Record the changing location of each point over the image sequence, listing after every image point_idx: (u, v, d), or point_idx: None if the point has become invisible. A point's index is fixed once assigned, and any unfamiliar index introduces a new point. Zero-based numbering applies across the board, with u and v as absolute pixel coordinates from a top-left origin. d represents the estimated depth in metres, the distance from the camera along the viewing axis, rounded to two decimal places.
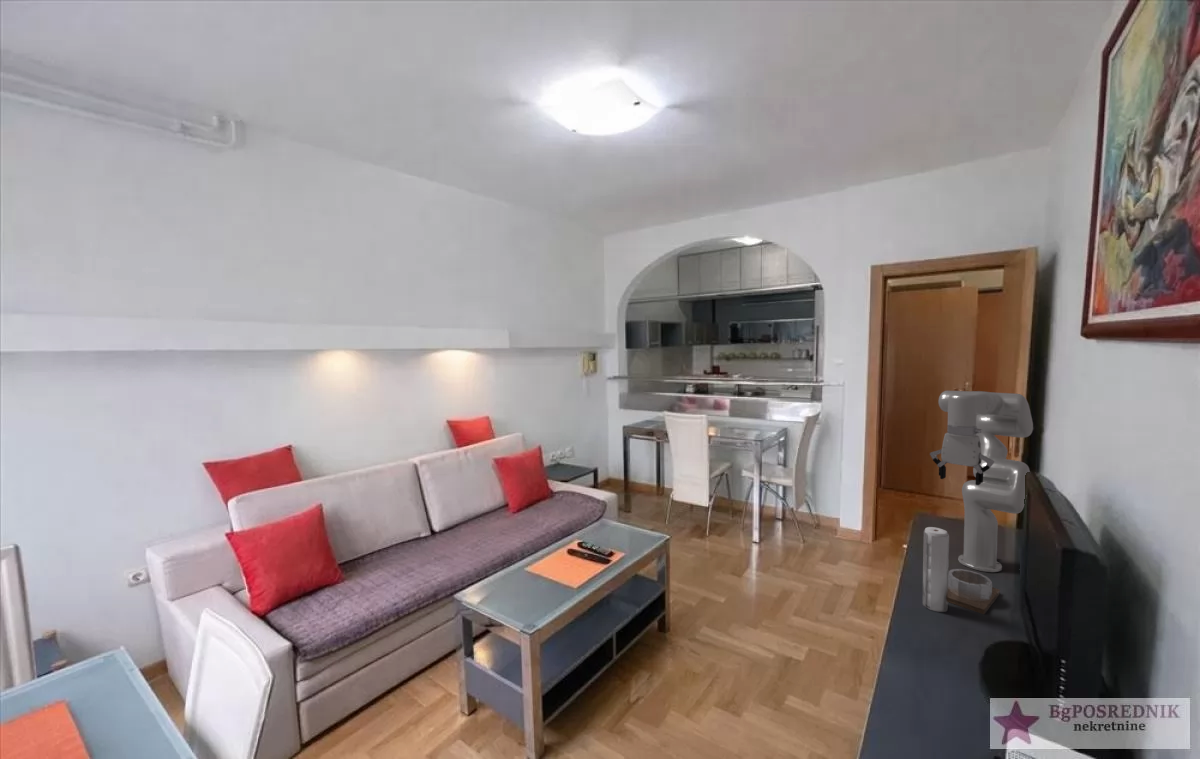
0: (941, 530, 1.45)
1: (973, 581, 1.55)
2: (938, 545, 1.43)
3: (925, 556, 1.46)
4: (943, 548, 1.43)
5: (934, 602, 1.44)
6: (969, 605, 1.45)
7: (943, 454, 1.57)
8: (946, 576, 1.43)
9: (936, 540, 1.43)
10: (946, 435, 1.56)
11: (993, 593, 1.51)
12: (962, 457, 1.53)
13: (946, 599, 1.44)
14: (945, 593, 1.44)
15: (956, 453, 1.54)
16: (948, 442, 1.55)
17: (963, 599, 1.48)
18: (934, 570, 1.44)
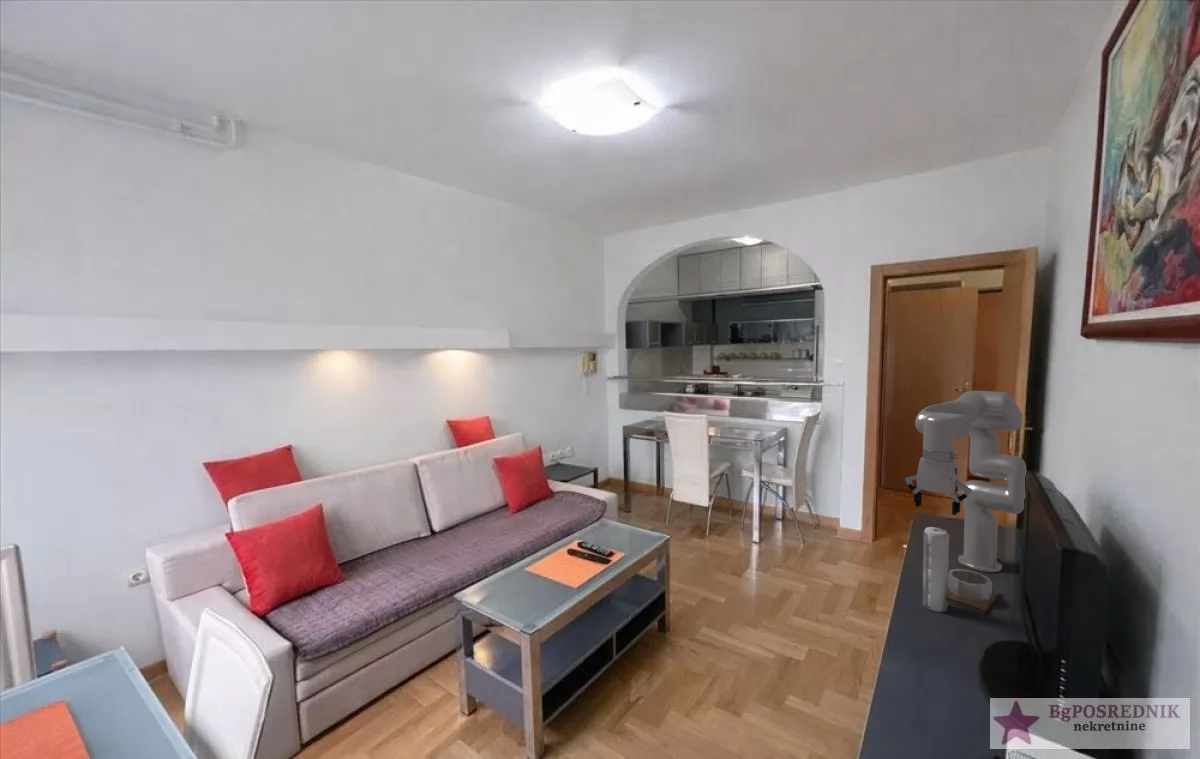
0: (941, 530, 1.45)
1: (973, 581, 1.55)
2: (938, 545, 1.43)
3: (925, 556, 1.46)
4: (943, 548, 1.43)
5: (934, 602, 1.44)
6: (969, 605, 1.45)
7: (918, 480, 1.46)
8: (946, 576, 1.43)
9: (936, 540, 1.43)
10: (921, 460, 1.45)
11: (993, 593, 1.51)
12: (937, 484, 1.42)
13: (946, 599, 1.44)
14: (945, 593, 1.44)
15: (932, 480, 1.43)
16: (923, 467, 1.45)
17: (963, 599, 1.48)
18: (934, 570, 1.44)
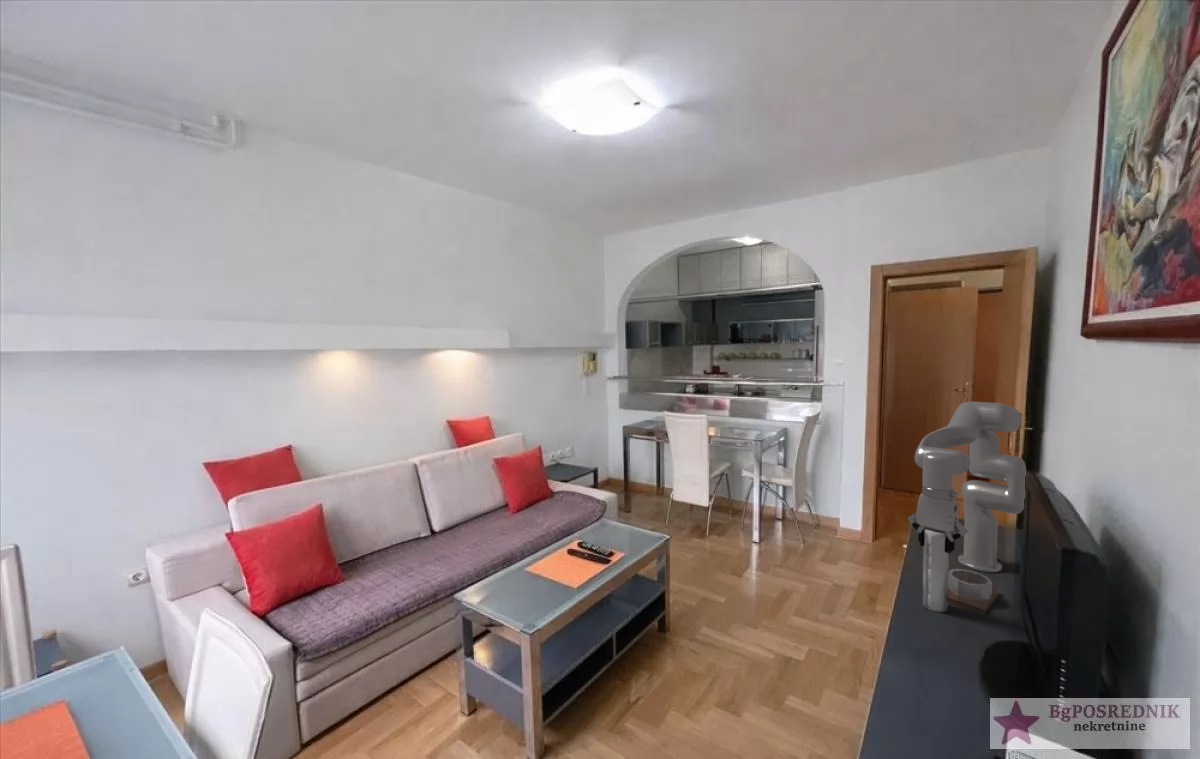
0: None
1: (973, 581, 1.55)
2: (938, 545, 1.43)
3: (925, 556, 1.46)
4: (943, 548, 1.43)
5: (934, 602, 1.44)
6: (969, 605, 1.45)
7: (918, 516, 1.47)
8: (946, 576, 1.43)
9: (936, 540, 1.43)
10: (921, 497, 1.46)
11: (993, 593, 1.51)
12: (937, 521, 1.43)
13: (946, 599, 1.44)
14: (945, 593, 1.44)
15: (932, 517, 1.44)
16: (923, 504, 1.46)
17: (963, 599, 1.48)
18: (934, 570, 1.44)
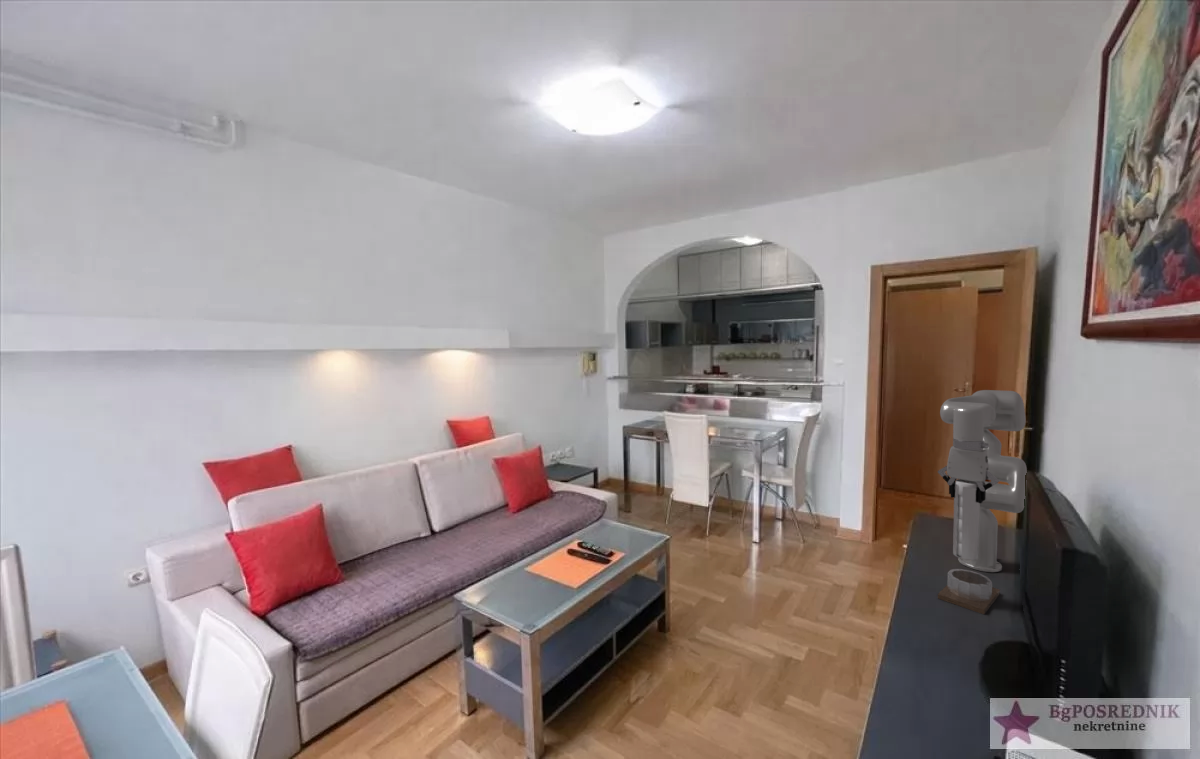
0: (971, 481, 1.48)
1: (973, 581, 1.55)
2: (969, 495, 1.46)
3: (956, 507, 1.50)
4: (974, 498, 1.46)
5: (965, 551, 1.48)
6: (969, 605, 1.45)
7: (949, 469, 1.51)
8: (977, 525, 1.47)
9: (967, 491, 1.47)
10: (952, 449, 1.50)
11: (993, 593, 1.51)
12: (968, 472, 1.47)
13: (977, 548, 1.48)
14: (976, 542, 1.48)
15: (963, 468, 1.48)
16: (954, 456, 1.49)
17: (963, 599, 1.48)
18: (965, 520, 1.48)
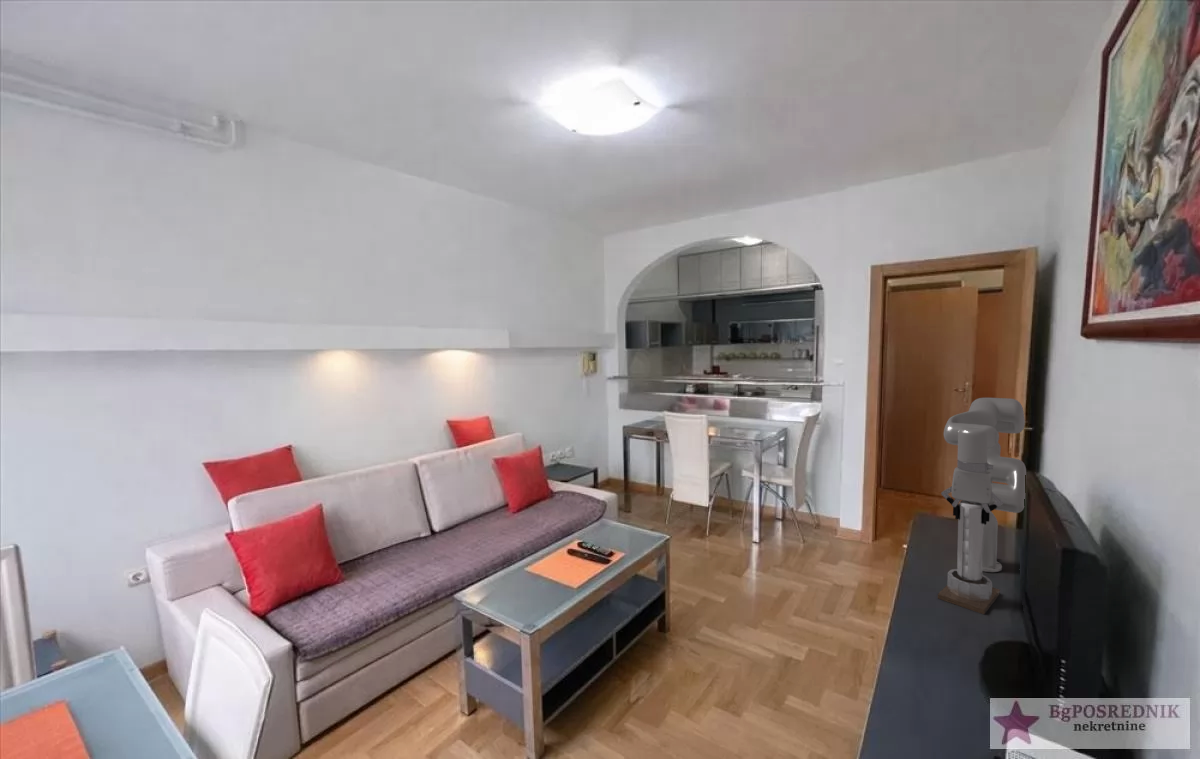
0: (975, 503, 1.50)
1: None
2: (976, 517, 1.47)
3: (961, 529, 1.50)
4: (980, 519, 1.47)
5: (971, 573, 1.49)
6: (969, 605, 1.45)
7: (954, 491, 1.51)
8: (982, 546, 1.48)
9: (973, 513, 1.47)
10: (957, 471, 1.50)
11: (993, 593, 1.51)
12: (974, 494, 1.48)
13: None
14: (981, 563, 1.49)
15: (968, 490, 1.49)
16: (959, 478, 1.50)
17: (963, 599, 1.48)
18: (972, 542, 1.48)
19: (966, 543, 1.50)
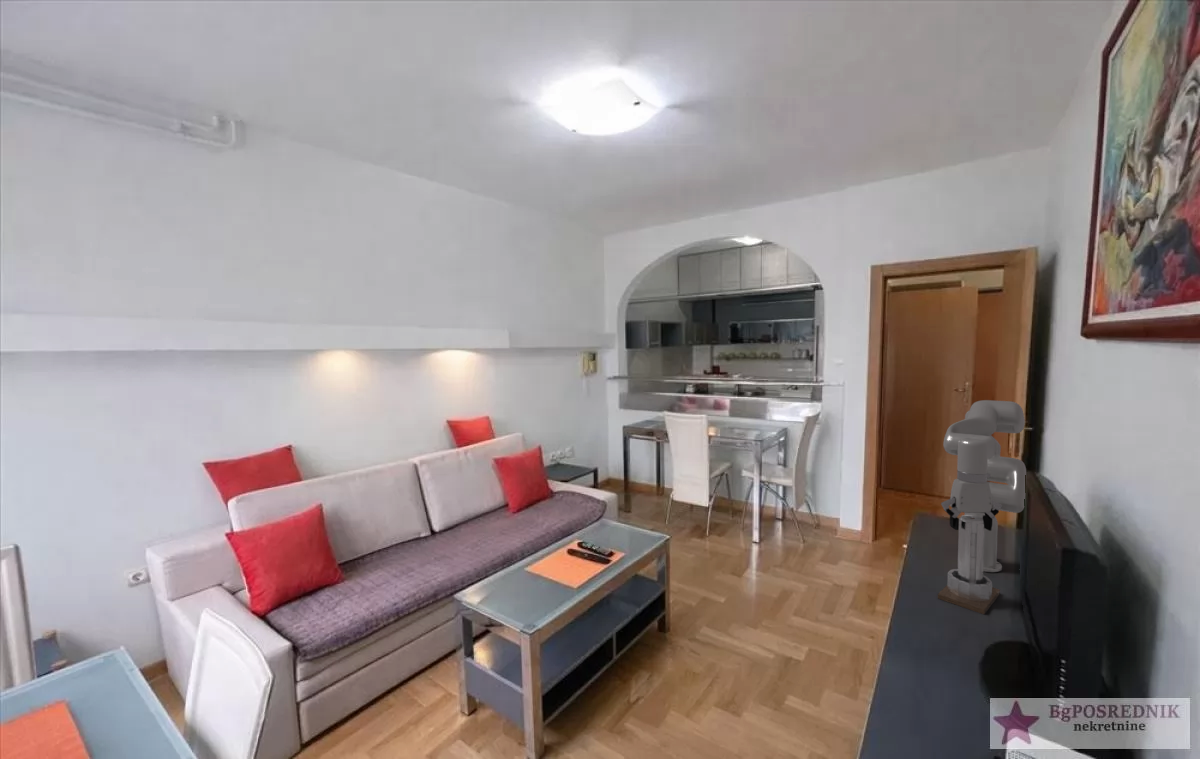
0: (974, 517, 1.51)
1: None
2: (982, 532, 1.48)
3: (968, 546, 1.49)
4: None
5: None
6: (969, 605, 1.45)
7: (961, 504, 1.49)
8: None
9: (980, 528, 1.48)
10: (963, 484, 1.48)
11: (993, 593, 1.51)
12: (978, 505, 1.48)
13: None
14: None
15: (974, 502, 1.48)
16: (966, 491, 1.48)
17: (963, 599, 1.48)
18: (979, 557, 1.48)
19: (973, 559, 1.49)
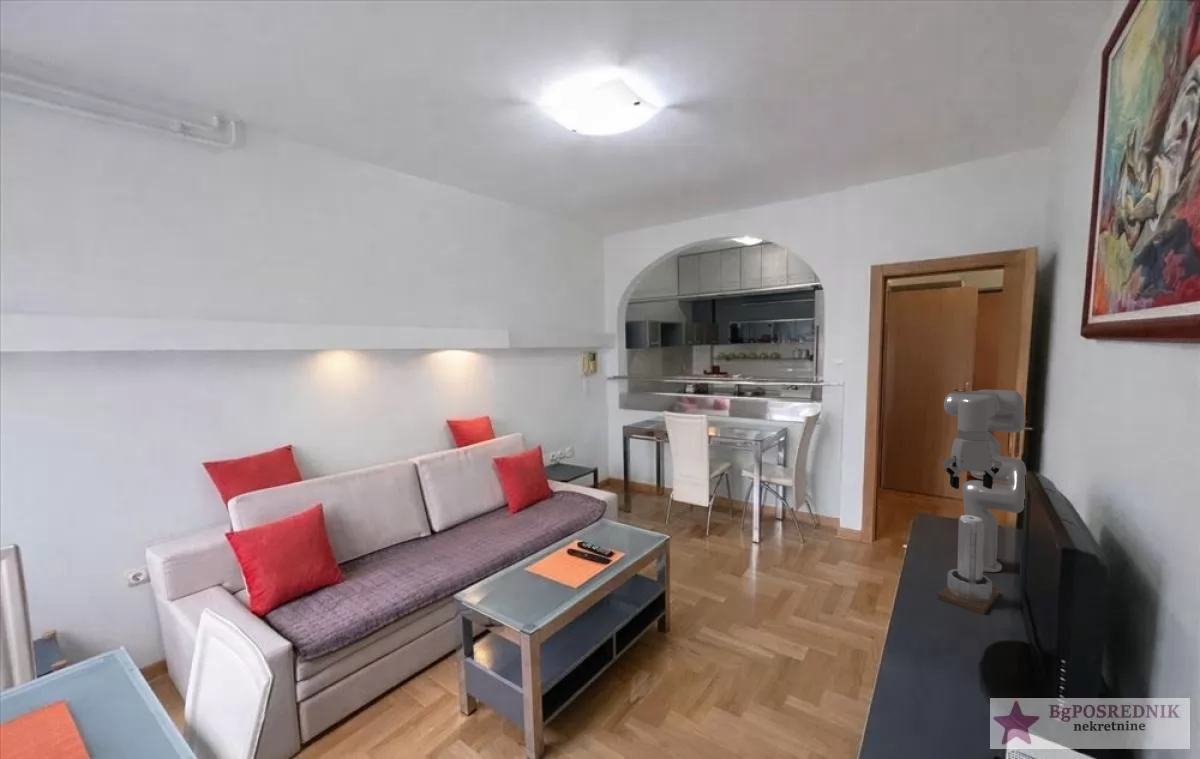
0: (973, 517, 1.51)
1: None
2: (981, 532, 1.48)
3: (968, 546, 1.49)
4: (983, 533, 1.49)
5: None
6: (969, 605, 1.45)
7: (961, 462, 1.48)
8: None
9: (980, 528, 1.48)
10: (964, 442, 1.48)
11: (993, 593, 1.51)
12: (979, 463, 1.47)
13: None
14: None
15: (974, 460, 1.47)
16: (967, 449, 1.47)
17: (963, 599, 1.48)
18: (979, 557, 1.48)
19: (973, 559, 1.49)
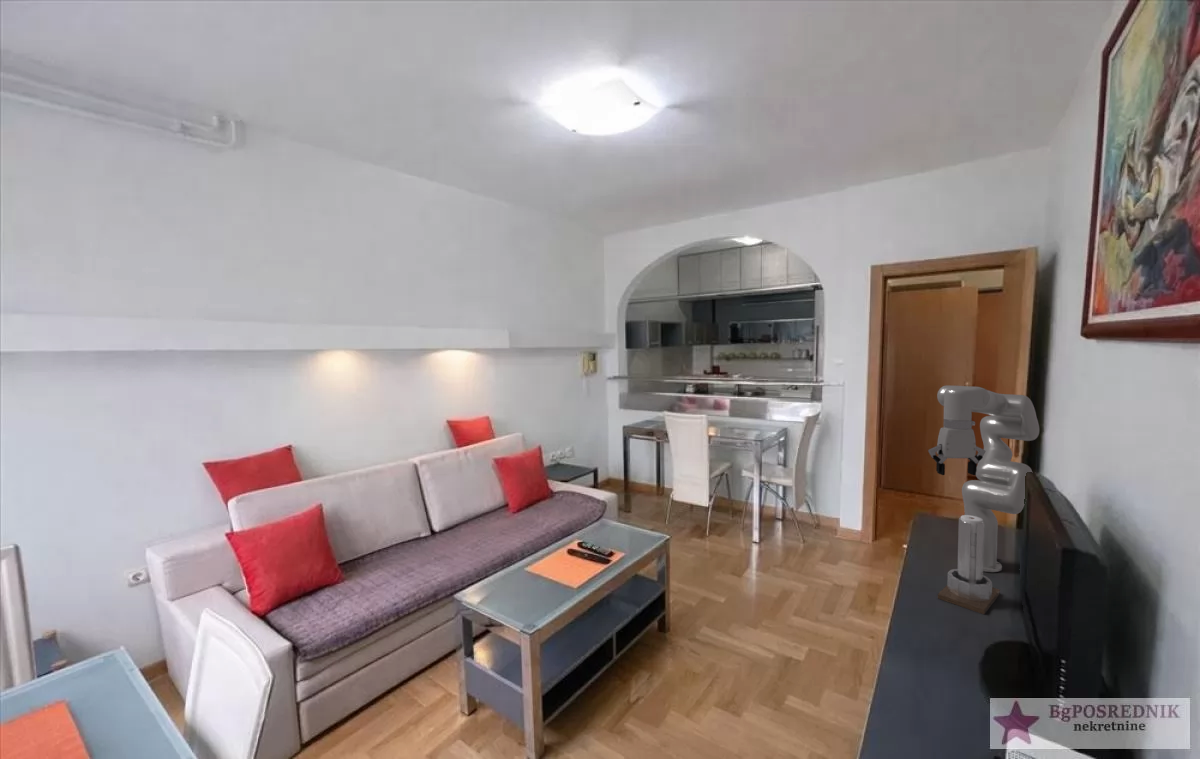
0: (973, 517, 1.51)
1: None
2: (982, 532, 1.48)
3: (968, 546, 1.49)
4: (983, 533, 1.49)
5: None
6: (969, 605, 1.45)
7: (946, 450, 1.57)
8: None
9: (980, 528, 1.48)
10: (949, 431, 1.56)
11: (993, 593, 1.51)
12: (963, 450, 1.56)
13: None
14: None
15: (959, 447, 1.56)
16: (952, 437, 1.56)
17: (963, 599, 1.48)
18: (979, 557, 1.48)
19: (973, 559, 1.49)
